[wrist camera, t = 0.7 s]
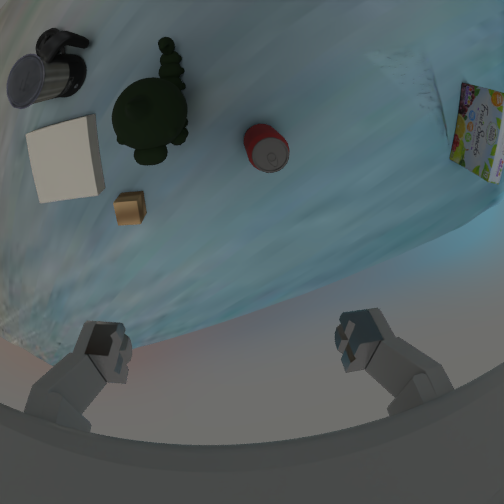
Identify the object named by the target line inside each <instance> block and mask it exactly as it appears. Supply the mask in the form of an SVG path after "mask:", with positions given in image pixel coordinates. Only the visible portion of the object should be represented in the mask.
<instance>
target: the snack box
mask: <svg viewBox="0 0 504 504" xmlns="http://www.w3.org/2000/svg"><path fill="white" fill-rule="evenodd" d="M450 159H451V160H452V161H454V162H456V163H458V164H459V165H461V166H463V167H464V168H466V169H468V170H469V171H471V172H473V173H474V174H476V175H478V176H479V177H481V178H482V179H484V180H486V181H487V182H490V183H495V184H499V181H500V177H501V173H502V170H503V166H504V93H502V92H498V91H495V90H491V89H487V88H483V87H479V86H475V85H470V84H465V83H462V88H461V98H460V106H459V113H458V119H457V125H456V130H455V135H454V140H453V145H452V150H451V154H450Z"/></svg>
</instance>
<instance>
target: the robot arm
mask: <svg viewBox="0 0 504 504" xmlns="http://www.w3.org/2000/svg"><path fill="white" fill-rule="evenodd" d="M339 320H340V323H341V324H340V325H339V326H338V327H337V328H336V331H335V344H336V347H337V350H338V351H339V352H341V353H342V354H343V355H342V358H341V361H342V363H343V366H344V369H345V372H346V373H347V372H352V371H358V370H364V369H365V371H366V372H367V373H369V374H370V375H371V376H372V377H373V378H374V379H375V380H376V381H377V382H378V383H380V384H381V385H382V386H383V387H384V388H385V389H386V390H387V391H388V392H389V393H391V394H392V395H393V396H394V397H395V399H394V400H393V401H392V402H391V403H390V405H389V406H388V408H387V410H388V413H389V417H386V418H382V419H379V420H376V421H372V422H369V423H365V424H362V425H359V426H355V427H350V428H347V429H342V430H338V431H334V432H329V433H324V434H319V435H314V436H308V437H302V438H297V439H289V440H282V441H274V442H264V443H253V444H236V445H181V444H165V443H154V442H144V441H136V440H129V439H122V438H116V437H110V436H105V435H100V434H95V433H91V432H90V429H91V424H90V422H89V421H88V420H87V419H86V418H85V417H84V416H82V413H83V412H84V411H85V410H86V408H87V407H88V406H89V405H90V403H91V402H92V401H93V400H94V398H95V397H96V396H97V395H98V393H99V392H100V391H101V390H102V389H103V387H104V386H105V385H106V384H107V383H106V382H110V383H122V384H126V380H127V375H128V371H129V369H128V367H127V365H126V364H127V363H128V362H129V361H130V360H131V357H132V344H131V340H130V338H129V337H128V336H127V335H126V334H124V333H125V327H124V325H123V323H116V322H102V321H86V322H85V323H84V325H83V328H82V330H81V333H80V335H79V338H78V340H77V343H76V345H75V348H74V351H73V353H69V354H67V355H66V356H65V357H64V358H63V359H62V360H61V361H59V362H58V363H57V364H56V365H55V366H54V367H53V368H51V369H50V370H49V371H48V372H47V373H46V374H45V375H43V376H42V377H41V378H40V379H39V380H38V381H37V382H36V383H35V384H34V385H33V386H32V388H31V391H30V394H29V397H28V400H27V403H26V406H25V410H24V412H21V411H18V410H16V409H13V408H11V407H9V406H6V405H4V404H2V403H0V504H504V363H501V364H500V365H498V366H497V367H495V368H493V369H492V370H490V371H488V372H487V373H485V374H483V375H482V376H480V377H478V378H476V379H474V380H472V381H471V382H469V383H467V384H465V385H463V386H461V387H459V388H457V389H455V390H454V388H453V386H452V384H451V382H450V380H449V378H448V376H447V374H446V373H445V371H444V369H443V367H442V365H441V364H439V363H438V362H436V361H435V360H433V359H432V358H430V357H429V356H427V355H425V354H424V353H422V352H421V351H419V350H418V349H416V348H415V347H413V346H412V345H410V344H409V343H407V342H406V341H404V340H403V339H401V338H399V337H395V335H394V333H393V332H392V330H391V328H390V326H389V325H388V323H387V321H386V319H385V317H384V316H383V314H382V312H381V311H380V309H378V308H372V309H366V310H365V309H364V310H357V311H350V312H343V313H342V314H341V316H340V319H339Z"/></svg>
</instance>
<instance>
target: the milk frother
mask: <svg viewBox="0 0 504 504" xmlns="http://www.w3.org/2000/svg"><path fill="white" fill-rule="evenodd" d="M50 35H53V36H52V37H51V38H50ZM89 43H90V42H89V40H88V39H87V38H85V37H83V36H80V35H78V34H75V33H72V32H69V31H59V30H58V29H56V28H51V29H49V30H47V31H45V32H44V33H43V34H42V35H41V36H40V37H39V39H38V41H37V44H36V53H37V55H35V54H27V55H25V56H23V57H22V58H20V59H19V60H18V61H17V62H16V63H15V65H14V66H13V68H12V69H11V72H10V74H9V77H8V80H7V96H8V99H9V101H10V103H11V105H12V106H13V107H14V108H19V109H23V108H26V107H28V106H30V105H31V104H34V103H38V102H42V101H45V100H49V99H53V98H58V97H69V96H71V95H73V94H75V93H76V92H77V91H78V90H79V89H80V87H81V86H82V84H83V82H84V80H85V77H86V65H85V62H84V60H83V59H82V58H81V57H80V56H78V55H73V54H65V48H64V46H65V45H69V46H74V47H79V48H83V49H85V48H87V47H88V45H89ZM60 49H61V53H62V54H58V52H59V51H60Z"/></svg>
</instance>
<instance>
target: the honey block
mask: <svg viewBox="0 0 504 504" xmlns="http://www.w3.org/2000/svg"><path fill="white" fill-rule="evenodd" d="M113 204H114V209H115V213H116V218H117V222H118V225H134V224H141V223H142V221H143V219H144V217H145V215H146V213H147V212H146V206H145V199H144V193H143V191H137V192H125V193H121V194H120V195H119V196H118V198H117V199H116V200H115V201H114V203H113Z"/></svg>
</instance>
